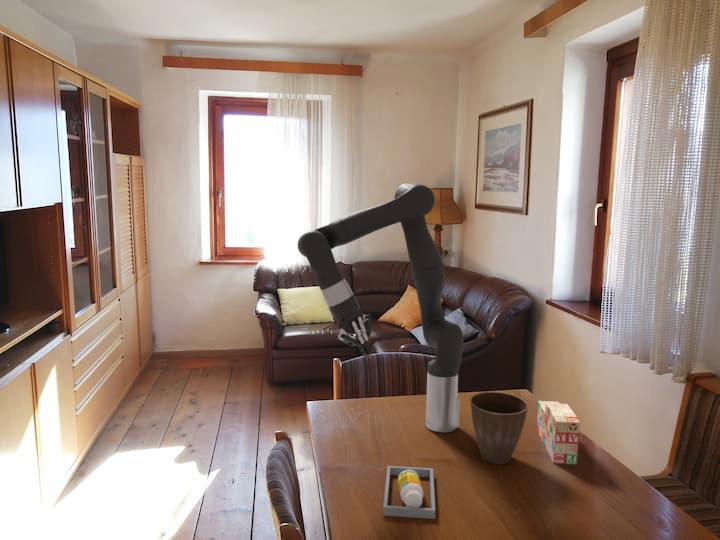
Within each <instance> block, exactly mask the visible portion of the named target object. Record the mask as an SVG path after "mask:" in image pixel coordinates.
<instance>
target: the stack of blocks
mask: <svg viewBox="0 0 720 540" xmlns="http://www.w3.org/2000/svg"><path fill="white" fill-rule="evenodd" d="M536 419H537V420H536V421H537V422H536V430H537V432H538V434H539V436H540V439H541V441H542V443H543V442H544V443H543V445H544V444H545V445H544V447H545V446H546V447H545V449H546V450H547V452H548V455H549V458H550V459H551V461H552V464H556V465H558V464H559V465H575V466H576V465H577V464H578V452H579V442H580V430H581V429H580V428H581V421H580V420H579V419H578V416H577V414H575V412H574V411H573V410H572V408H571V407H570V406H569V405H568V403H560V402H559V401H548V400H547V401H546V400H545V401H544V400H537V417H536Z"/></svg>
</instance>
